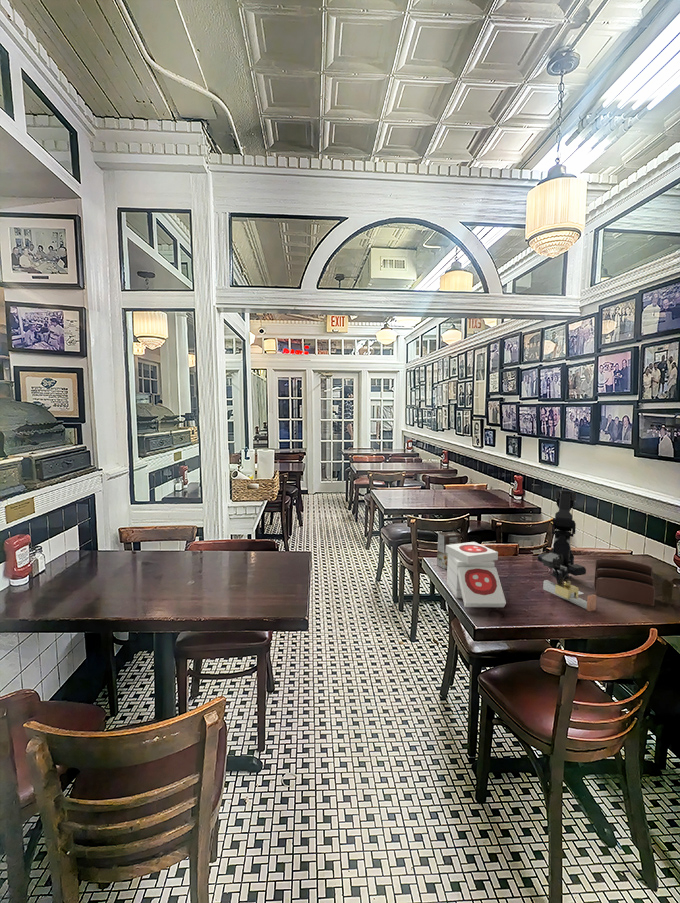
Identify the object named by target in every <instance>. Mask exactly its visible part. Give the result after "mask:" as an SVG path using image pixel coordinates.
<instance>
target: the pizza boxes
mask: <svg viewBox="0 0 680 903" xmlns="http://www.w3.org/2000/svg"><path fill="white" fill-rule="evenodd" d="M445 552H446V553H448V563H447V570H446V585H447V586H448V587H449V589H450V591H451V592H452V594H453V595H454V596H455V598H456V599H462V601H463V606H464V608H504V607H506V604H507V601H506V597H505V594H504V591H503V588H502V584H501V581H500V577H499V572H498V570H497V569H498V568H497V567H495V561H498V560H499V552H498V551H497V550H494V549H492V548H489V547H487V546H485V545H483V544H480V543H478V542H476V541H470V542H461V543H459V544H451V545H446V551H445Z"/></svg>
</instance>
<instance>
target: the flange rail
mask: <svg viewBox="0 0 680 903" xmlns="http://www.w3.org/2000/svg"><path fill="white" fill-rule="evenodd" d="M542 584H543V585H542V586H543V587H542V590H544V591H546V592H548V593H551V594H552V595H555V596H557V597H559V598H561V599H563V600H565V601H568V602H570V603H572V604H574V605H576V606H578V607H581V608H583V609H584V610H586V611H587V612H593V611H596V608H597V595H595V593H594V594H589V595H587V600H585V599H583V598H581V597H579V596H578V597H576V596H574V593H571V595H570V599H567V598H565V597H562V596H560V595H558V594H556V593H555V587H556V584H557V583H555V582H553V581H550V580H548V579H545V580H543V583H542Z"/></svg>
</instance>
